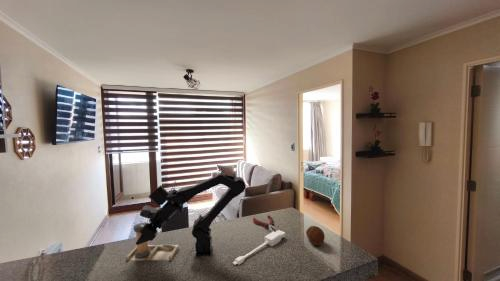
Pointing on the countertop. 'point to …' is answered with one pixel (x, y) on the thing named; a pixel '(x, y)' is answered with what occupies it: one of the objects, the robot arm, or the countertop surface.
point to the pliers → (266, 223)
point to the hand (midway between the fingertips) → (140, 238)
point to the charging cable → (269, 239)
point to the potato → (315, 235)
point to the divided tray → (156, 252)
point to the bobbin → (143, 247)
